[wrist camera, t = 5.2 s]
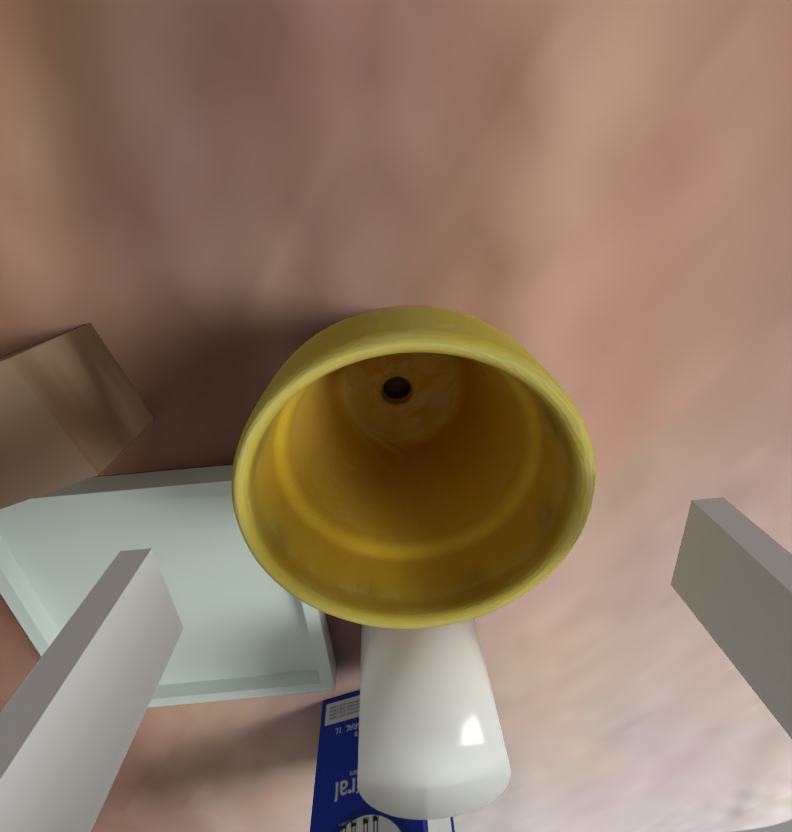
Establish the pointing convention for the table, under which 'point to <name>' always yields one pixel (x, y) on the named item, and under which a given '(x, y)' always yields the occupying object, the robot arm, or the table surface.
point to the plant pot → (412, 471)
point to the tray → (168, 581)
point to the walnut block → (63, 414)
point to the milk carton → (351, 779)
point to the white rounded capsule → (428, 723)
